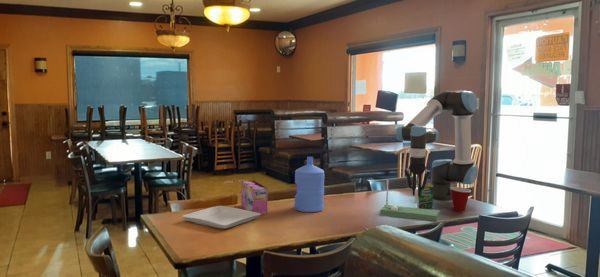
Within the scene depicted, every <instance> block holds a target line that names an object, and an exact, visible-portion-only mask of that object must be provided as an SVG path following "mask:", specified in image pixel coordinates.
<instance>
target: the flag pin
mask: <svg viewBox="0 0 600 277" xmlns="http://www.w3.org/2000/svg"><path fill="white" fill-rule="evenodd" d="M385 186H386V196H385V198H386V200H385V201H386V202H385V205H386V206H388V205H389V204H388V203H389V179H386V181H385Z"/></svg>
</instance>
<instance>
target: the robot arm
mask: <svg viewBox="0 0 600 277" xmlns="http://www.w3.org/2000/svg"><path fill="white" fill-rule="evenodd" d="M477 108H478V98H477V96H476V94H475V93H474V92H473V91H470V90H468V91H467V90H446V91H442V92H440V93H438V94H436V95H435V96H433V97H432V98H430V99H428V101H427V103H426V106H425V107H424V108H422V109H421V111H419V112H418V113H417V114H416V115H415V116H414V117H413V118H412V119H411V120H410V121H409V122H408V123H407V124H406V125H405V126H399V127H397V128H396V130H395V138H396V140H398V141H401V142H402V141H403V142H410V148H409V156H410V157H409V166H408V167H407V168H406V169H404V173H405V175H406V180H407V184H408V188H409V189H411V190H412V196H413V197H414V204H417V203H418V196H420V195H421V190H422V189H424V188H425V184H426V183H427V181H428V176H429V175H430V173H431V179H430V180H431V182H430V184H432V185H433V200H437V201H439V200H441V201H451V200H452V194H451V189H450V188H451V187H452V183H455V184H456V183H457V184H462V185H473V184H474V183H476V180H477V178H478V174H479V168H478V165H476V164H475V161H474V160H473V158H472V135H471V134H472V133H471V132H472V130H471V128H472V126H471V125H472V124H471V123H472V122H471V118H472V117H473V115H474V113H475V112H476V111H477ZM442 112H451V116H452V117H453V118H454V151H455V154H454V156H455V157H454V159H450V158H448V159H446V158H445V159H436V160H433V161H432V164H431V170H429V169H427V166H426V155H427V154H426V151H427V150H426V149H427V148H426V146H427V145H428V144H433V143H435V142H437V141H438V140H439V137H440V133H439V131H438V130H437V129H436V128H433V127H432V128H431V127H429V128H427V127H426V125H428V124H429V123H430V122H431V121H432V120H433V119H434V118H435V117H436V116H437V115H440V114H441V113H442ZM426 144H427V145H426ZM410 172H411V174H412V178H411V175H410ZM423 173H424V174H425V175H424V178H423V182H422V175H423ZM421 184H422V187H421Z"/></svg>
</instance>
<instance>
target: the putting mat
mask: <svg viewBox="0 0 600 277" xmlns="http://www.w3.org/2000/svg"><path fill="white" fill-rule="evenodd" d="M392 206H393V205H391V204H388V206H386V204H385V205H384V206H382V208H380V211H379V214H380V215H382V216H390V217H400V218H406V219H407V218H408V219H417V220H426V221H434V222H438V218H439V217H440V210H439V209H436V210H435V209H430V208H418V207H409V206H399V205H395V206H396V207H397V208H398V210H390V209H391V207H392Z"/></svg>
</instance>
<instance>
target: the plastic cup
mask: <svg viewBox="0 0 600 277" xmlns="http://www.w3.org/2000/svg"><path fill="white" fill-rule="evenodd" d="M450 189H451V194H452V199H451V200H452V201H451V202H452V207H453V210H454V212H458V213H459V212H462V213H463V212H465V211H466V208H467V204H468V200H469V196H470V193H471V192H472V190H471V189H469V188H464V187H458V186H451V188H450Z"/></svg>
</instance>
